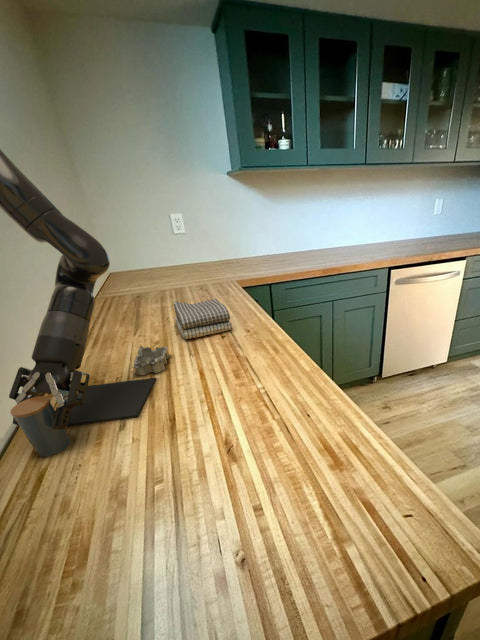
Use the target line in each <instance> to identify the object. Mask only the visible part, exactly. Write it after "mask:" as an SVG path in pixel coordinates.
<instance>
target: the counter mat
mask: <svg viewBox="0 0 480 640" xmlns="http://www.w3.org/2000/svg"><path fill="white" fill-rule="evenodd" d="M156 381H157V378H156V377H149V378H141V379H134V380H126V381H125V380H124V381H117V382H109V383H101V384H100V383H99V384H93V385H88V388H87V393H86V398H85V403H84V405H83V406H76V407H74V408H73V409H72V410H71V414H70V418H69V421H68V425H67V426H66V427H73V426H80V425H88V424H95V423H104V422H110V421H112V422H113V421H119V420H127V419H133V418H139V416H140V414H141V412H142V411H143V408H144V406H145V404H146V402H147V400H148V398H149V396H150V394H151V392H152V389H153V388H154V385H155V383H156ZM78 394H79V393H78V392H77V395H76V398H78Z"/></svg>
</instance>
